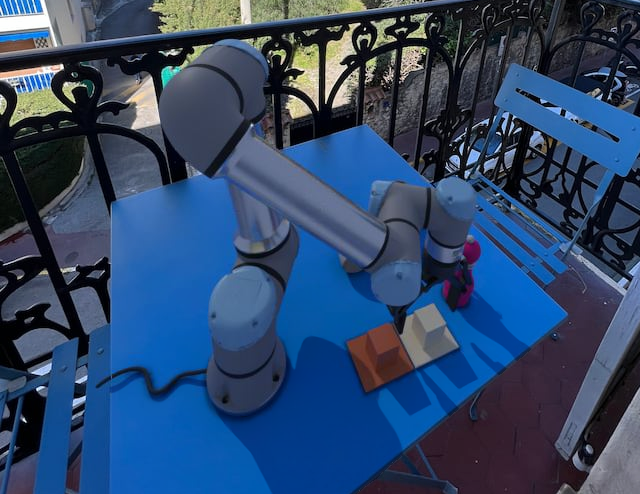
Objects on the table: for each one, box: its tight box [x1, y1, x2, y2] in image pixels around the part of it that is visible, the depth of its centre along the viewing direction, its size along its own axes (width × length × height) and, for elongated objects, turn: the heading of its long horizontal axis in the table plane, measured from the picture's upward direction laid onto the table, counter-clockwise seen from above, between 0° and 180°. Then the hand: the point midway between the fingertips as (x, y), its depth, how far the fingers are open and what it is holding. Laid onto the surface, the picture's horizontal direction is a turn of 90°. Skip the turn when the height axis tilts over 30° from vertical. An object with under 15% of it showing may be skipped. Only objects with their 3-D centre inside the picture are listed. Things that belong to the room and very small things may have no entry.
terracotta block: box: [365, 322, 400, 372], centre depth 84 cm, size 5×5×6 cm
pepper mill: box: [442, 234, 482, 308], centre depth 95 cm, size 7×7×20 cm
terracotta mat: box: [346, 322, 415, 394], centre depth 85 cm, size 11×10×1 cm
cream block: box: [411, 302, 447, 350], centre depth 88 cm, size 5×5×6 cm
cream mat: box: [392, 313, 460, 369], centre depth 90 cm, size 11×10×1 cm
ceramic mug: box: [337, 252, 364, 274], centre depth 104 cm, size 11×8×8 cm
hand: (424, 317), depth 88 cm, fingers open, 13 cm apart
